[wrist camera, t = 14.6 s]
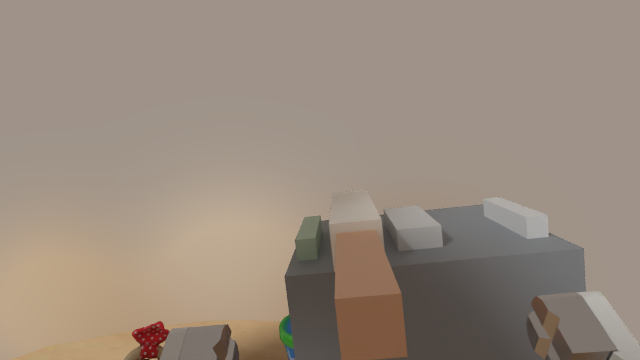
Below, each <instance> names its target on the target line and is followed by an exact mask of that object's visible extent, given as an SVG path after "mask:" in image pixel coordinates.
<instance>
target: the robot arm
mask: <svg viewBox="0 0 640 360" xmlns="http://www.w3.org/2000/svg"><path fill="white" fill-rule="evenodd" d="M531 305H532V307H533V309H534V311H533V312H532V313H530V314H529V315H528V318H527V322H526V326H527V334H528V337H529V340H530V343H531V345H532V347H533V349H534V351H535V352H536V353H537V354H539V355H540V356H541V357H542V358H544V359H545V360H640V344H639V343H638V342H637V340H636V339H635V338H634V336H633V335H632V334H631V332H630V331H629V330H628V328H627V327H626V326H625V324H624V323H623V322H622V320H621V319H620V317H619V316H618V315H617V314H616V312H615V311H614V309H613V308H612V307H611V305H610V304H609V303H608V301H607V300H606V298H605V297H604V296H603V295H602V294H601V293H600V292H598V291H585V292H576V293H575V292H570V293H561V294H551V295H542V296H536V297H535V298H533V300H532V304H531ZM230 336H231V330H230V328H229V326H228V324H227V325H214V326H201V327H186V328H175V329H172V330H171V331H170V333H169V334H168V336H167V339H166V342H165V345H164V348H163V351H162V354H161V357H160V360H239V352H238V346H237V344H236V341H235V340H233V339H231V338H230Z"/></svg>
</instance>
